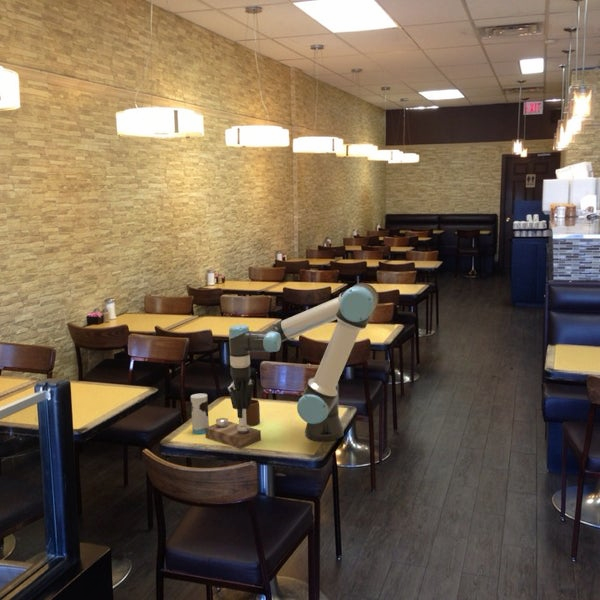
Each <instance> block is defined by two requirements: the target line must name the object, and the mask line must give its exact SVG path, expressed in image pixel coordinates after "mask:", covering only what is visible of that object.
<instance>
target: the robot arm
mask: <svg viewBox="0 0 600 600" xmlns="http://www.w3.org/2000/svg"><path fill="white" fill-rule="evenodd" d="M378 303H379V293H378V291H377V290H376V288H375V287H374V286H372V285H371V284H369V283H365V282H359V283H356V284H355V285H353V286H352V287H350V288H348V289H346V290H345V291H343V292H341V293H340V294H339V296H338V297H335V298H333V299H331V300H328V301H326V302H323V303H321V304H318V305H317V306H314V307H312V308H309V309H307V310H305V311H302V312H300V313H297V314H295V315H293V316H291V317H287V318H286V319H283V320H281V321H279V322H276V323H273V324H270V325H269V326H268V327H266V328H265V329H263V330H260V331H259V330H258V331H253V330H250V329H249V325H246V324H236V325H232V326H230V327H229V329H228V331H229V332H228V341H229V343H228V344H229V363H230V376H231V378H232V379H231V384H230V385H229V386H228V385H227V387H226V389H227V391H228V393H229V397H230V401H231V405H232V409H234V410H236V411H237V418H238V424H239V425H241V426H246V425H247V423H246V416H247V409H249V407H248V406H250V405H251V400H252V398H253V391H254V385H255V383H256V381H255V380H253V379H251V366H250V365H251V355H250V353H251V352H263V353H264V352H265V353H266V352H267V353H273V352H274V353H275V352H278V351H280V348H281V345H282V342H285V341H287V340H290V339H292V338H294V337H296V336H299V335H302V334H304V333H306V332H308V331H311V330H314V329H315V328H319V327H321V326H323V325H326V324H329V323H331V322H333V321H336V320H337V322H336V324H335V327H334V330H333V332H332V334H331V337H330V339H329V341H328V344H327V347H326V349H325V351H324V354H323V357H322V359H321V361H320V362H319V365H318V369H317V371H316V373H315V375H314V377H310V378H309V379H308V381H307V384H306V387H305V389H304V390H303V393H302V396H301V397H299V399H298V401H297V405H296V406H297V407H296V409H297V413H298V415H299V417H300V418H301V419H302V420H303V421H304V422H306V426H305V430H304V434H305V437H306V438H307V439H309V440H312V441H318V442H331V441H335V440H338V439H341V438H342V437H344V427H343V425H342V422H341V419H340V416H339V414H340V412H339V380H340V377H341V375H342V374H343V371H344V369H345V366H346V364H347V361H348V359H349V357H350V355H351V352H352V350H353V348H354V345H355V343H356V341H357V337H359V333H360V331H361V330H365V329H366V327H367V325H368V323H369V321H370V318H371V316H372V313H373V312H374V310H375V309H376V308H377V306H378Z"/></svg>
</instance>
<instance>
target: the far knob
mask: <svg viewBox="0 0 600 600" xmlns="http://www.w3.org/2000/svg"><path fill="white" fill-rule="evenodd" d="M228 421H229V420H228V418H227V417H220V418H216V419H215V424H216V426H217V427H219V428H224V427H227V426H228Z"/></svg>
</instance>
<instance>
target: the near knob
mask: <svg viewBox="0 0 600 600" xmlns="http://www.w3.org/2000/svg"><path fill="white" fill-rule="evenodd" d="M249 427H250V426H249V425H248V424H247V425H246V426H241V425H237V433H239V434H246V433H249Z"/></svg>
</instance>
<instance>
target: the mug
mask: <svg viewBox="0 0 600 600" xmlns="http://www.w3.org/2000/svg"><path fill="white" fill-rule="evenodd" d="M248 407H249V409H247V416H246V423H247V424H248V425H249V427H255V426H257V425H259V424H260V422H261V418H260V417H261V414H260V413H261V411H260V409H261V408H260V401H259V400H258V399H252V400H251V405H250V406H248Z"/></svg>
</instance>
